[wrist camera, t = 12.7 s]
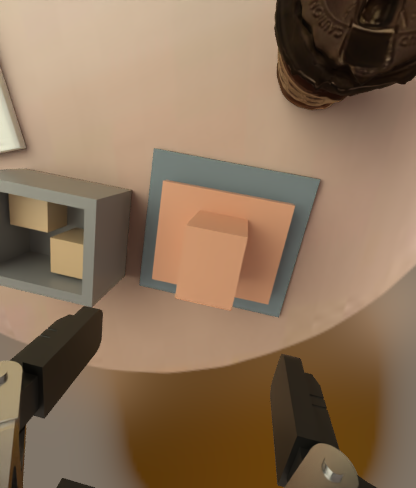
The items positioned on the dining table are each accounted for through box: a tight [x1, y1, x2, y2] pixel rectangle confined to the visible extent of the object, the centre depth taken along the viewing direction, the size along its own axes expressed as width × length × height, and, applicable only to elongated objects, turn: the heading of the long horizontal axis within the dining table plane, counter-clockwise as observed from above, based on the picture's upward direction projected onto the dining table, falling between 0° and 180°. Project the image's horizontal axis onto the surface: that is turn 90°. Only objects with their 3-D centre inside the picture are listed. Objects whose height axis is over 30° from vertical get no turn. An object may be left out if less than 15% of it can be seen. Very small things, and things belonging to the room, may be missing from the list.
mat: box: [139, 148, 320, 317], centre depth 28 cm, size 15×16×1 cm
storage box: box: [0, 169, 132, 307], centre depth 27 cm, size 10×12×7 cm
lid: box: [152, 180, 295, 311], centre depth 24 cm, size 10×12×8 cm
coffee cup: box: [274, 0, 416, 110], centre depth 17 cm, size 9×8×13 cm
